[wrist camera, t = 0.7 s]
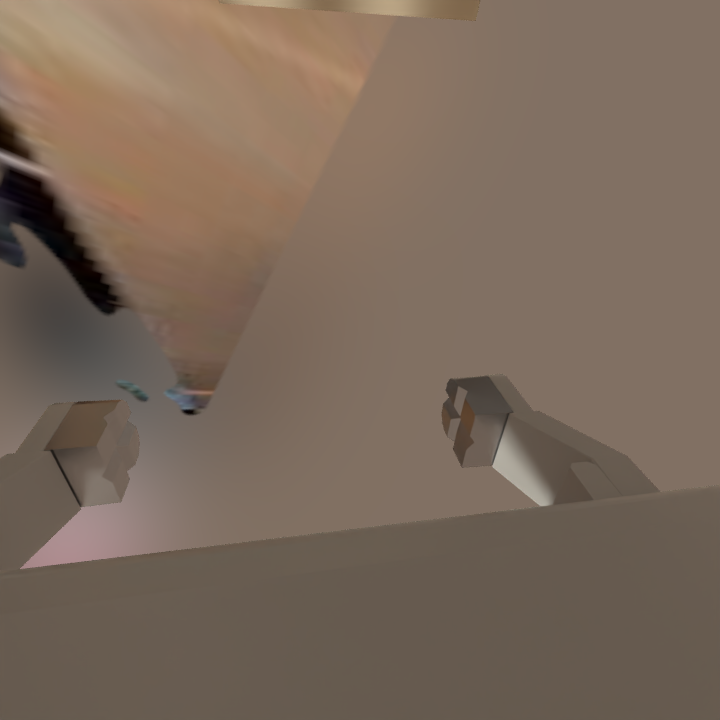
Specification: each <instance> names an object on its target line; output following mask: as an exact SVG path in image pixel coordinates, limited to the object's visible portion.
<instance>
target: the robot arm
mask: <svg viewBox="0 0 720 720" xmlns="http://www.w3.org/2000/svg"><path fill="white" fill-rule="evenodd" d="M446 392H447V394H448V396H449V398H448V399H447V400H446V401H445V402H444V403H443V408H442V424H443V427H444V431H445V433H446V435H447V437H448V438H450V439H451V440H453V441H454V446H453V450H454V452H455V454H456V456H457V459H458V461H459V463H460V465H461V467H462V468H464V467H478V466H491V465H493V466H492V467H493V468H494V469H496V470H497V471H498V472H499V473H500V474H502V475H503V476H504V477H505V478H507V479H508V480H509V481H510V482H511V483H513V484H514V485H515V486H516V487H518V488H519V489H520V490H521V491H523V492H524V493H525V494H526V495H528V496H529V497H530V498H531V499H532V500H534V501H535V502H536V503H537V504H539V505H540V507H532V508H524V509H515V510H507V511H499V512H492V513H483V514H474V515H467V516H458V517H449V518H441V519H433V520H424V521H416V522H408V523H400V524H392V525H383V526H375V527H366V528H357V529H349V530H341V531H333V532H325V533H316V534H308V535H300V536H291V537H283V538H275V539H266V540H259V541H251V542H242V543H233V544H225V545H217V546H210V547H200V548H192V549H184V550H176V551H167V552H159V553H151V554H142V555H135V556H126V557H117V558H109V559H101V560H93V561H84V562H77V563H68V564H60V565H51V566H43V567H35V568H27V569H20V568H21V567H22V566H23V565H24V564H25V563H26V562H27V561H28V560H29V559H30V558H31V557H32V556H33V555H34V554H35V553H36V552H37V551H38V550H39V549H40V548H41V547H43V546H44V545H45V544H46V543H47V542H48V541H49V540H50V539H51V538H52V537H53V536H54V535H55V534H56V533H57V532H58V531H59V530H60V529H61V528H62V527H63V526H64V525H65V524H66V523H67V522H68V521H69V520H70V519H71V518H72V517H73V516H74V515H76V514H77V513H78V511H80V510H81V508H80V507H86V506H94V505H102V504H110V503H118V502H121V501H122V498H123V496H124V493H125V490H126V488H127V485H128V483H129V480H130V478H129V476H128V473H127V471H128V470H129V469H130V468H131V467H133V466H134V465H135V464H136V461H137V458H138V455H139V445H140V442H139V435H138V432H137V428H136V426H134V425H133V424H132V423H130V422H128V418H129V416H130V414H131V411H130V409H129V406H128V404H127V402H125V401H124V400H107V401H106V400H105V401H84V402H68V403H54V404H52V405H50V406H49V407H48V408H47V409H46V411H45V412H44V413H43V415H42V416H41V418H40V419H39V420H38V422H37V423H36V425H35V426H34V427H33V429H32V430H31V432H30V433H29V434H28V436H27V437H26V439H25V440H24V441H23V443H22V444H21V446H20V447H19V448H18V450H17V451H16V453H13V454H7V455H5V456H3V457H1V458H0V720H720V485H714V486H706V487H698V488H691V489H681V490H673V491H665V492H660V491H659V490H658V489H657V487H656V486H655V485H654V484H653V483H652V482H651V481H650V480H649V479H648V478H647V477H646V476H645V474H643V472H642V471H641V470H640V469H639V468H638V467H637V466H636V465H635V464H634V463H633V462H632V460H631V459H630V458H629V457H628V456H626V455H624V454H622V453H620V452H618V451H616V450H614V449H612V448H610V447H609V446H607V445H605V444H602V443H601V442H599V441H597V440H595V439H593V438H591V437H589V436H587V435H585V434H583V433H581V432H579V431H577V430H575V429H573V428H571V427H570V426H567V425H566V424H564V423H562V422H560V421H558V420H556V419H554V418H552V417H550V416H548V415H546V414H544V413H542V412H540V411H533V410H532V408H531V407H530V406H529V405H528V403H527V402H526V401H525V399H524V398H523V397H522V396H521V394H520V393H519V392H518V391H517V389H516V388H515V387H514V385H513V384H512V383H511V382H510V380H509V379H508V378H507V376H505V375H503V374H496V375H486V376H480V377H466V378H451V379H450V380H449V381H448V383H447V387H446Z"/></svg>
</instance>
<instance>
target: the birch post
mask: <svg viewBox="0 0 720 720" xmlns="http://www.w3.org/2000/svg"><path fill="white" fill-rule="evenodd" d="M219 3H223V4H237V5H252V6H266V7H281V8H295V9H310V10H324V11H339V12H353V13H368V14H382V15H397V16H411V17H426V18H440V19H455V20H469V21H476V17H477V13H478V8H479V4H480V0H219Z"/></svg>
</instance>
